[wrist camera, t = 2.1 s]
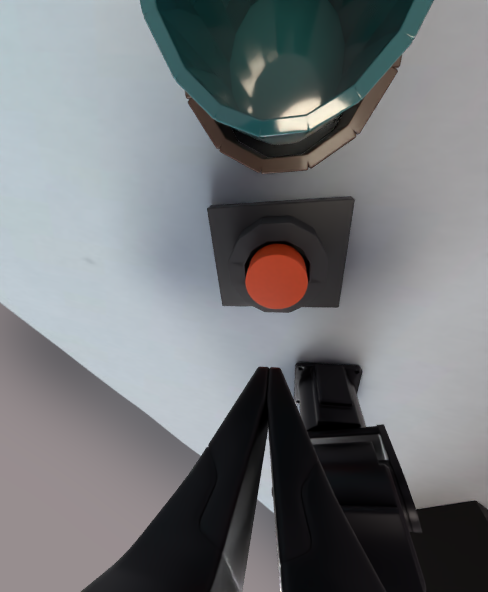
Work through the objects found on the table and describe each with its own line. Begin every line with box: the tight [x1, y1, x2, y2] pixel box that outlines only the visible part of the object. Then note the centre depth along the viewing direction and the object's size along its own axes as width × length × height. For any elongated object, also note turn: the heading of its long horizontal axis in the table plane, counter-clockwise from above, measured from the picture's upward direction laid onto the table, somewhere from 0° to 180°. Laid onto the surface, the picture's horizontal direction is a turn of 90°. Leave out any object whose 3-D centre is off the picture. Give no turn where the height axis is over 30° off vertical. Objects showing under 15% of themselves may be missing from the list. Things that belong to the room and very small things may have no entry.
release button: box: [245, 244, 308, 309], centre depth 16 cm, size 4×4×2 cm
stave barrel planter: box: [185, 55, 402, 174], centre depth 11 cm, size 9×9×4 cm
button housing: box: [207, 197, 355, 313], centre depth 18 cm, size 10×8×3 cm
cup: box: [140, 0, 434, 146], centre depth 9 cm, size 7×7×10 cm
